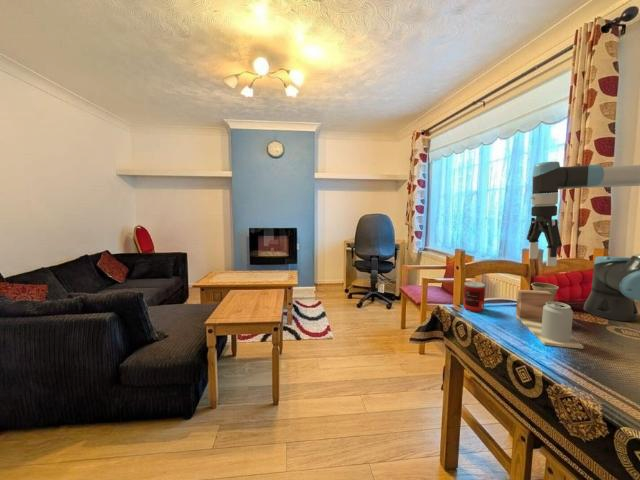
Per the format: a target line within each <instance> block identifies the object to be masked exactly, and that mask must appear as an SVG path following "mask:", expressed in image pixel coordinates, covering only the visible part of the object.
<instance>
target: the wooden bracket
mask: <svg viewBox="0 0 640 480" xmlns="http://www.w3.org/2000/svg"><path fill="white" fill-rule="evenodd" d="M516 292H517V293H516V294H517V295H516V307H515V308H516V309H515V317H516V318H517V319H518V320H519V321H520V322H521V323H522V324H523V325H524V326H525V327H526V328H527V329H528V330H529V331H530V332H531V333H532V335H534V336H535V337H536V338H537V339H538V340H539V341H540V342H541V343H542V344H543V345H544V346H551V347H552V346H553V347H559V348H560V347H562V348H571V349H572V348H573V349H582V350H584V345H582V344H581V343H580V342H579V341H577V340H576V339H575V338H574V337H573V336H571V341H570V342H556V341H552V340H549V339H547V338H545V337H543V336H542V335H541V328H542V316H543V306H545V305H546V303H547V302H553V294H552V293H550V292H548V291H535V290H533V289H532V290H531V289H517V291H516Z"/></svg>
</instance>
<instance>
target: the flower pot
mask: <svg viewBox="0 0 640 480" xmlns="http://www.w3.org/2000/svg"><path fill="white" fill-rule="evenodd" d="M530 285H531V286H532V287H531V288H532V290H535V291H548V292H550V293H552V294H553V302H555V297H556V293H557V292H558V290H559V288H560V287H559V286H557V285H555V284H552V283H546V282H532V283H531V284H530Z"/></svg>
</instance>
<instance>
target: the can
mask: <svg viewBox="0 0 640 480" xmlns="http://www.w3.org/2000/svg"><path fill="white" fill-rule="evenodd" d="M573 317H574V311H573V309H572V306H570V305H569V304H567V303H563V302H559V301H554V302H547V303H546V305H545V306H543V316H542V328H541V335H542V336H543V337H545V338H547V339H549V340H552V341H556V342H570V341H571V337H572V329H573V319H574V318H573Z"/></svg>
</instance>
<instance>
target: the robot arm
mask: <svg viewBox="0 0 640 480" xmlns="http://www.w3.org/2000/svg"><path fill="white" fill-rule="evenodd" d="M613 187H614V188H615V187H616V188H617V187H640V164H636V165H633V164H632V165H621V166H619V165H618V166H617V165H616V166H602V165H601V164H585V165H574V166H573V165H571V166H561V165H560V162H559V161H556V160H555V161H545V162H544V161H543V162H540V163H539V162H538V163H535V165H534V166H533V171H532V191H531V192H532V193H531V194H532V195H531V197H530V200H531V205H532V207H531V211H530V212H531V213H530V214H531V216H532V217H531V219H530V225H529V228H528V233H527V236H526V240H527V241H528V242H529V244H528V245H529V248H528V250H529V251H528V259H529V260H537V259H538V258H539V257H538V256H539V243H540V241H539V238H540V236H541V234H542V233H544V237H545V240H546V243H547V246H546V261H545V264H546V266H547V267H557V265H558V264H557V259H558V249H559V248H561V247H562V246H563V244H562V240H561V238H562V237H561V235H560V234H561V233H560V230H559V225H558V223H559V222H558V218H555V219H554V218H553V217H556V216H557V215H558V206H557V204H559V190H566V189H569V190H570V189H589V188H613ZM593 262H594V263H593V270H592V271H593V273H592V281H591V291H590V293H589V295H588V297H587V299H586V301H585V302H584V304H583V311H585V312H586V313H588V314H590V315H593V316H596V317H599V318H603V319H608V320H613V321H618V322H619V321H621V322H635V321H638V320H639V311H638V309H637V306H636V302H640V253H638V254H637V253H636V254H633V255H632V256H631V257H627V256H604V255H601V256H599V255H598V256H596V257H595V259H594V261H593ZM635 301H636V302H635Z"/></svg>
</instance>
